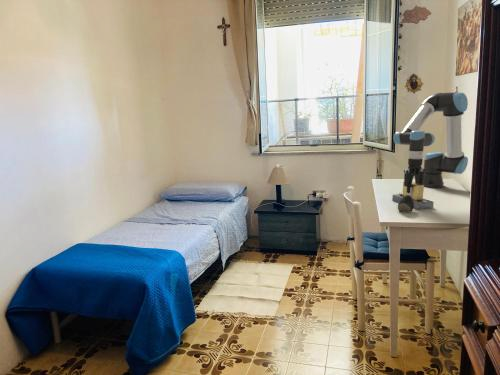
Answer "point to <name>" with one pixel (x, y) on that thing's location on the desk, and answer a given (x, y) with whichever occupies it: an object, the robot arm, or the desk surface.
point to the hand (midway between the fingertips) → (412, 197)
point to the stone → (406, 204)
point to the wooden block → (414, 191)
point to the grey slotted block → (415, 202)
